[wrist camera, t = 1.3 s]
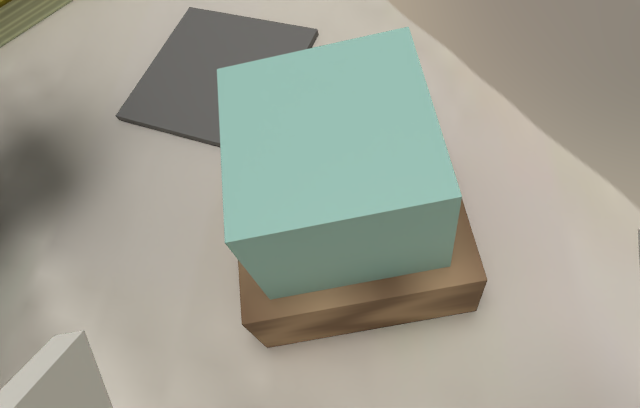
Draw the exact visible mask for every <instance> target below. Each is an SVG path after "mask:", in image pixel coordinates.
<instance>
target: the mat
mask: <svg viewBox="0 0 640 408" xmlns="http://www.w3.org/2000/svg"><path fill="white" fill-rule="evenodd" d="M317 36H318V30H317V29H313V28H307V27H302V26H296V25H290V24H284V23H278V22H273V21H267V20H261V19H255V18H250V17H244V16H238V15H232V14H226V13H221V12H215V11H209V10H203V9H198V8H192V7H189V9H188V10H187V12H186V13H185V15H184V16H183V18H182V19H181V21H180V22H179V24H178V25H177V27H176V28H175V29H174V31H173V32H172V34H171V35H170V37H169V38H168V40H167V41H166V43H165V44H164V46H163V47H162V49H161V50H160V51H159V53H158V54H157V56H156V57H155V59H154V60H153V62H152V63H151V65H150V66H149V68H148V69H147V71H146V72H145V74H144V75H143V76H142V78H141V79H140V81H139V82H138V84H137V85H136V87H135V88H134V90H133V91H132V93H131V94H130V96H129V97H128V98H127V100H126V101H125V103H124V104H123V106H122V107H121V109H120V110H119V112H118V113H117V115H116V117H117V118H118V119H119V120H122V121H126V122H129V123H133V124H137V125H141V126H144V127H148V128H152V129H155V130H159V131H163V132H167V133H170V134H174V135H178V136H182V137H185V138H189V139H193V140H196V141H200V142H204V143H208V144H211V145H215V146H219V147H220V127H219V105H218V84H217V69H219V68H224V67H228V66H233V65H237V64H242V63H246V62H251V61H256V60H260V59H265V58H269V57H274V56H278V55H283V54H287V53H292V52H296V51H301V50H305V49H310V48H311V47H312V45H313V43H314V41H315V40H316V38H317Z"/></svg>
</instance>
